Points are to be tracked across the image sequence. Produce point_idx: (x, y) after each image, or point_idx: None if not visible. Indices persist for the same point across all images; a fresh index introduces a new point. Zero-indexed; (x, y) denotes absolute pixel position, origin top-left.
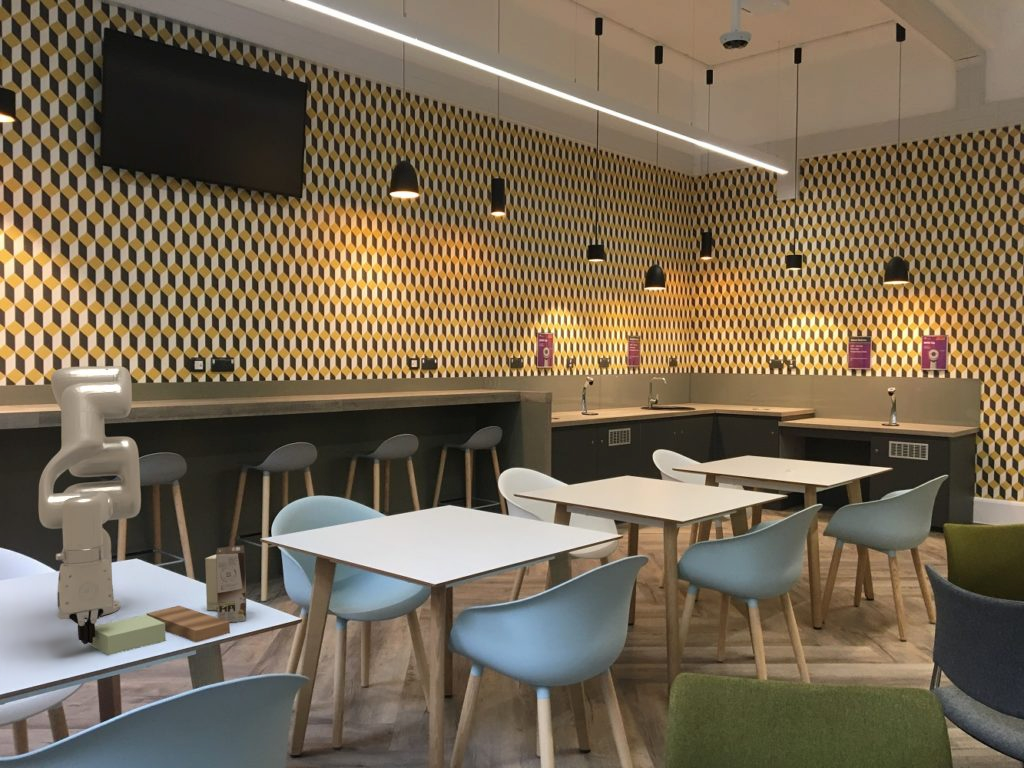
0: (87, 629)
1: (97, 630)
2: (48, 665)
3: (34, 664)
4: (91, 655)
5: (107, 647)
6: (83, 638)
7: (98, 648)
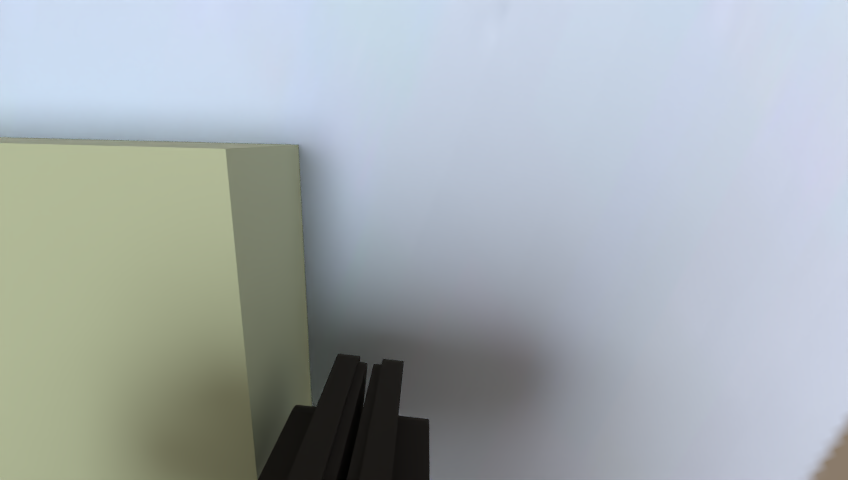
0: (356, 454)
1: (247, 459)
2: (687, 263)
3: (727, 358)
4: (394, 242)
5: (279, 168)
6: (398, 416)
7: (306, 340)
